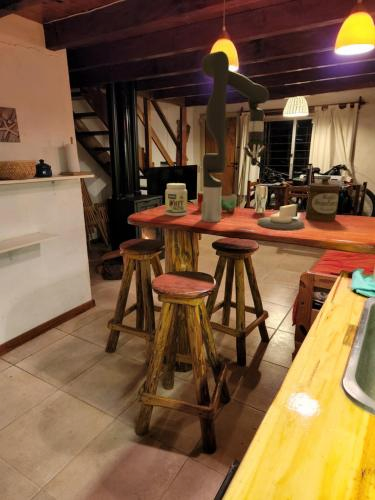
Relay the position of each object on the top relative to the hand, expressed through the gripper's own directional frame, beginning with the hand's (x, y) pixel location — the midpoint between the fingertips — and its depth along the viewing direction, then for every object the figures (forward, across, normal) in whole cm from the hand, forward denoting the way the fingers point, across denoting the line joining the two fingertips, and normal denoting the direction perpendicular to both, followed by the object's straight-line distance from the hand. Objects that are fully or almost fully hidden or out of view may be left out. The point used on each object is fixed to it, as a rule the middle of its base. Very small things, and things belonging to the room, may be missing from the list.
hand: (253, 165), depth 170 cm
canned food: (+27, -21, +20) cm, 40 cm away
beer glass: (+27, +9, +6) cm, 29 cm away
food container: (+27, -8, +10) cm, 30 cm away
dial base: (+27, +4, -25) cm, 37 cm away
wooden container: (+27, +32, -18) cm, 46 cm away
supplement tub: (+27, -40, +12) cm, 50 cm away
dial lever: (+25, +8, -23) cm, 35 cm away
